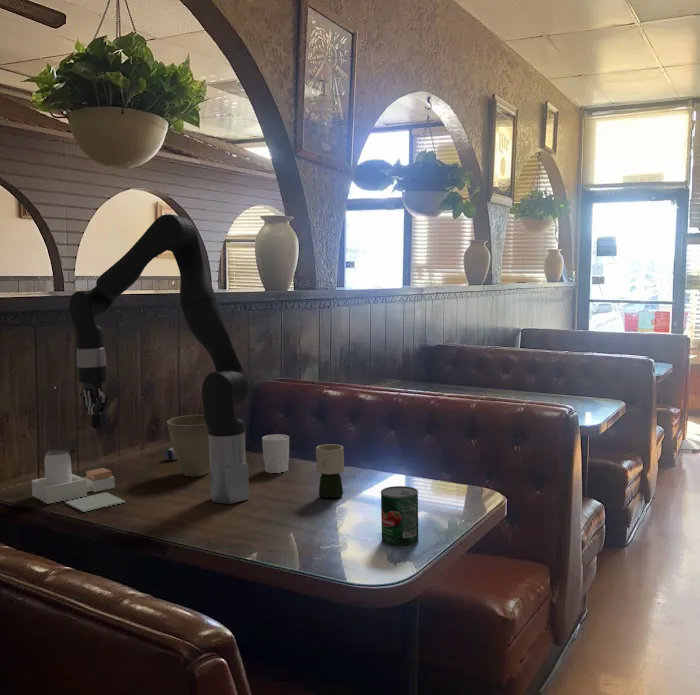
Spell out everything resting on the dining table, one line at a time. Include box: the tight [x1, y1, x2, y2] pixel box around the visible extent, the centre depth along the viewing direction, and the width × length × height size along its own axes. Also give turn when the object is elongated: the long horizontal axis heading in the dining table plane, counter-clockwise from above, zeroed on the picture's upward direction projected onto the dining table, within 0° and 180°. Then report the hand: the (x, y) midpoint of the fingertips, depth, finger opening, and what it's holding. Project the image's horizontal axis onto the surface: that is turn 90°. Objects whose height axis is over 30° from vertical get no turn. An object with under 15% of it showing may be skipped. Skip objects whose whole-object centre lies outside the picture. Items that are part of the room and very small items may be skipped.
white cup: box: [261, 433, 290, 474], centre depth 220 cm, size 8×8×10 cm
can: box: [43, 449, 73, 486], centre depth 199 cm, size 6×6×12 cm
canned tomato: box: [380, 485, 419, 549], centre depth 160 cm, size 8×8×11 cm
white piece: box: [31, 473, 116, 504], centre depth 202 cm, size 10×19×4 cm, turn 132°
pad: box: [64, 492, 126, 513], centre depth 193 cm, size 11×11×1 cm
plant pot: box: [166, 414, 210, 478], centre depth 218 cm, size 15×15×16 cm
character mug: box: [315, 443, 345, 499], centre depth 193 cm, size 11×7×13 cm, turn 152°
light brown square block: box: [85, 467, 113, 480], centre depth 207 cm, size 5×5×4 cm
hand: (95, 427), depth 205 cm, fingers closed
